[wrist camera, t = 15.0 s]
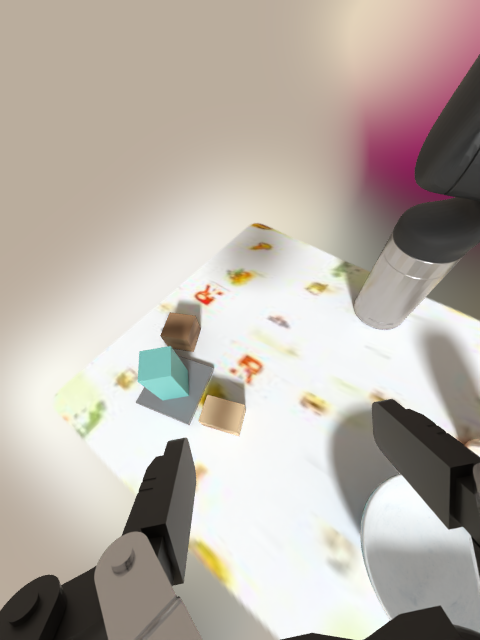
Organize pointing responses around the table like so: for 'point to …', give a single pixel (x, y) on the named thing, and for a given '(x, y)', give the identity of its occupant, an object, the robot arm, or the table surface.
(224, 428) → the oak block
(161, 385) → the teal block
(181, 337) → the walnut cube
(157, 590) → the robot arm
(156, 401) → the coaster
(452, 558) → the chinaware
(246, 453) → the table surface
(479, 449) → the beer glass
